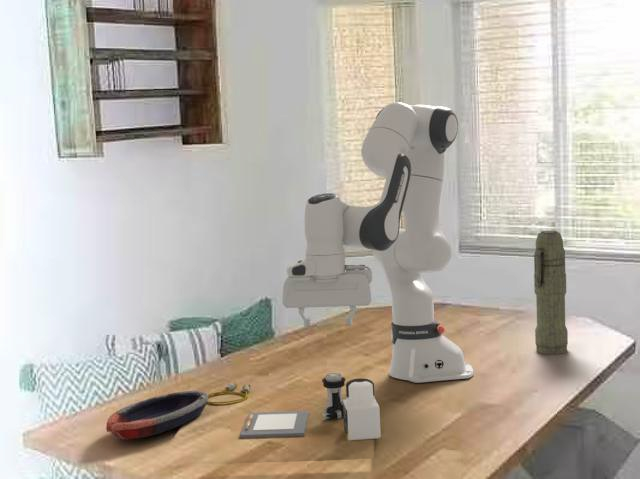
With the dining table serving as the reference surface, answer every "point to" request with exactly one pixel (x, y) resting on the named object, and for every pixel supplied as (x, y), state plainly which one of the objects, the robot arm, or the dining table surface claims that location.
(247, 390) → the extension cord
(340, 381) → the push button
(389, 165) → the robot arm
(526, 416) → the dining table surface
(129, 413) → the dish
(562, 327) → the thermos
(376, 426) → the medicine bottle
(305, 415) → the grey board
